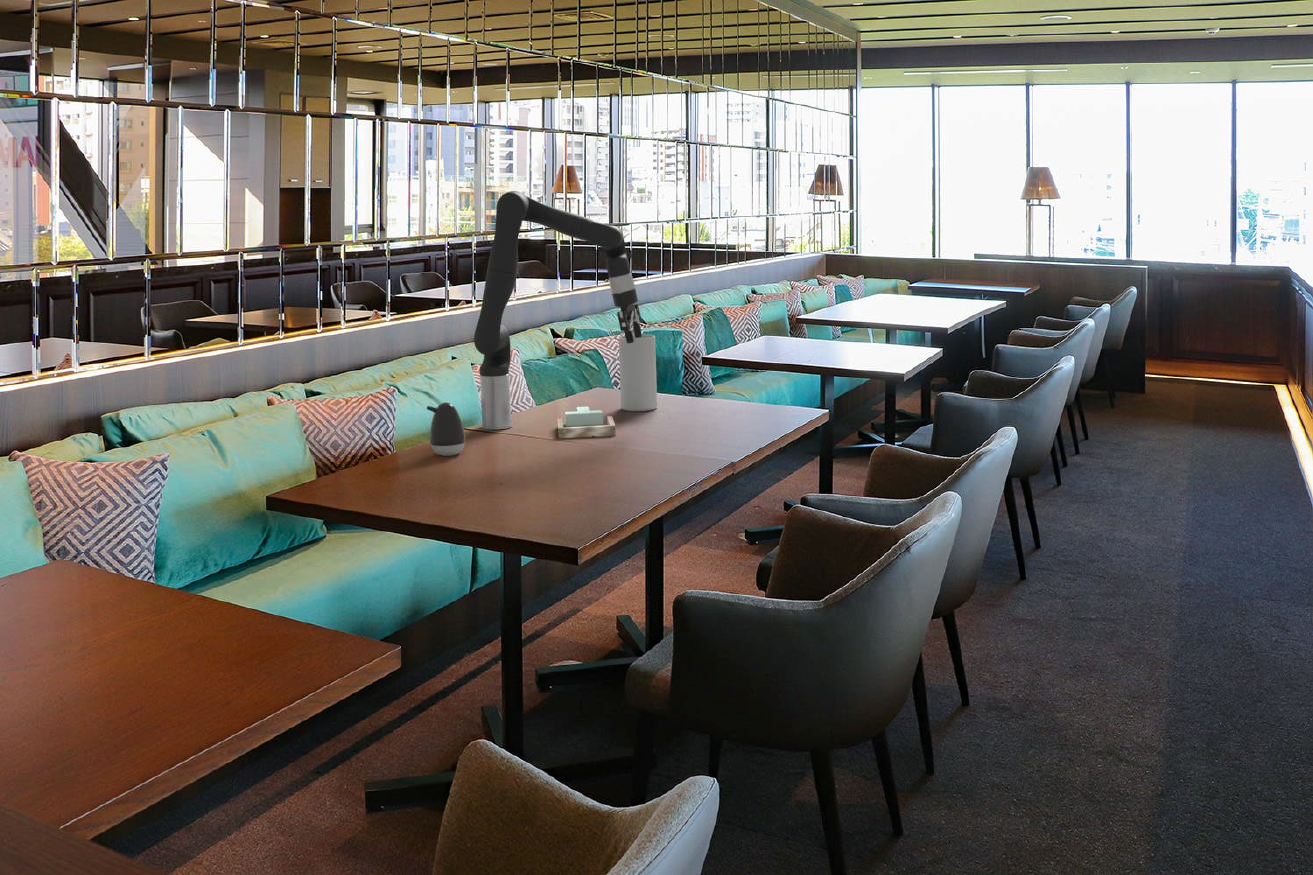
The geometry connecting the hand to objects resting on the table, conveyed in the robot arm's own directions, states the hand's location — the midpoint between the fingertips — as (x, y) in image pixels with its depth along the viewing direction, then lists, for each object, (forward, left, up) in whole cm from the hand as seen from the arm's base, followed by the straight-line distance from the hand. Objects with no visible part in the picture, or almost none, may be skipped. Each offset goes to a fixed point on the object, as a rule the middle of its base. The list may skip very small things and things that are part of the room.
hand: (634, 340), depth 350 cm
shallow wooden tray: (-17, -5, -27) cm, 33 cm away
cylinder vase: (+3, +30, -28) cm, 41 cm away
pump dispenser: (-58, -29, -28) cm, 70 cm away
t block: (-17, +11, -28) cm, 34 cm away
